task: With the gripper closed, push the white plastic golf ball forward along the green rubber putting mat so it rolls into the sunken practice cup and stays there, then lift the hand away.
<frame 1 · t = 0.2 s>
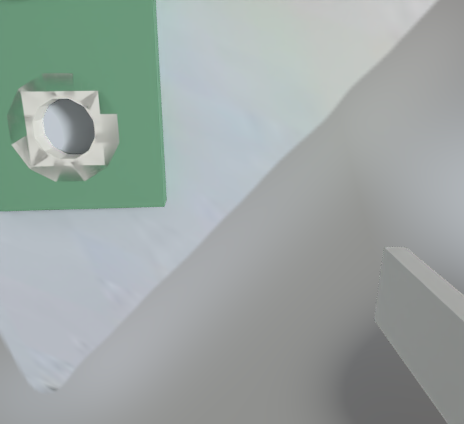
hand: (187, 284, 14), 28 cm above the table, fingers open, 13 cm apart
mat: (65, 67, 38), on the table
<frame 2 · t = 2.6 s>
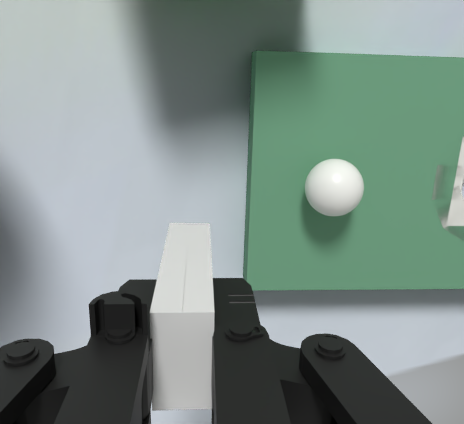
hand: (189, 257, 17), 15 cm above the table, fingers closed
ball: (333, 187, 28), point 4 cm above the table, touching mat
mat: (410, 174, 32), on the table
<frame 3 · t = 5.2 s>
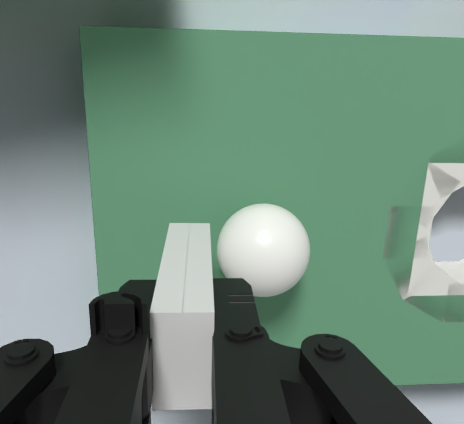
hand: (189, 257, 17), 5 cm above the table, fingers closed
ball: (263, 249, 17), point 4 cm above the table, tilted 54°, touching mat
mat: (355, 215, 22), on the table
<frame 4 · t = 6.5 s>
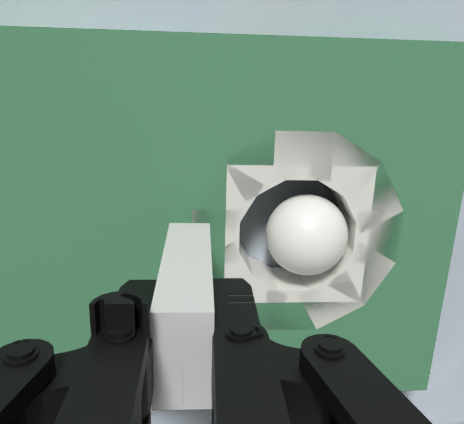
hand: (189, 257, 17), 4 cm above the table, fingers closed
ball: (306, 234, 20), point 2 cm above the table, tilted 69°
mat: (182, 218, 21), on the table
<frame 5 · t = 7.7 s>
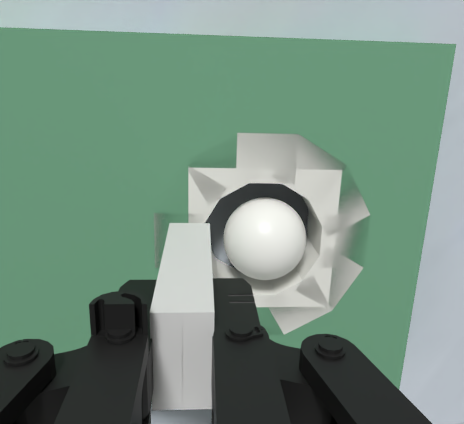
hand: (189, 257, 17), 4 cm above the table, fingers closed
ball: (264, 238, 19), point 2 cm above the table, tilted 57°
mat: (149, 221, 21), on the table
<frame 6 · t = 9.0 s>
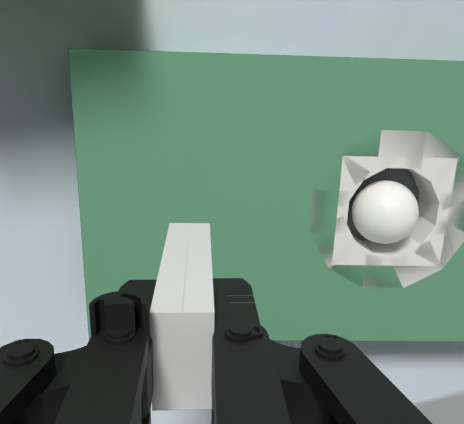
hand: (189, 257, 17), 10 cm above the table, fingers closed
ball: (384, 212, 25), point 2 cm above the table, tilted 45°
mat: (294, 200, 26), on the table
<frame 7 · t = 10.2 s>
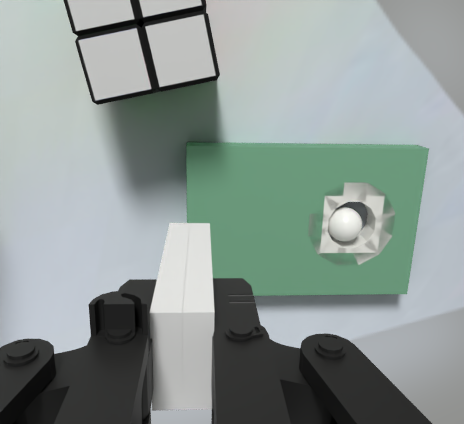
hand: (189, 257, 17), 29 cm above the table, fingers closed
puzzle cube: (154, 35, 42), on the table
ball: (344, 224, 46), point 2 cm above the table, tilted 33°
mat: (299, 217, 48), on the table
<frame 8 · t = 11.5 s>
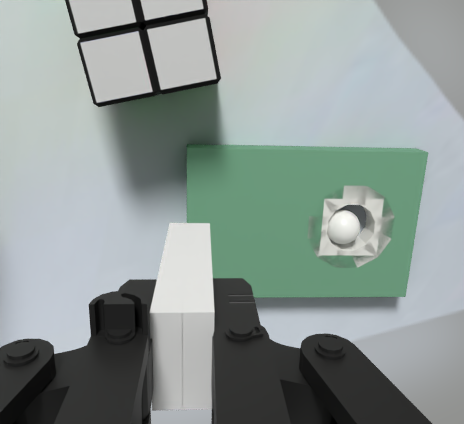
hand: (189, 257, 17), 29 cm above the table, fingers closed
puzzle cube: (155, 37, 42), on the table
ball: (342, 226, 46), point 2 cm above the table, tilted 29°
mat: (298, 220, 48), on the table
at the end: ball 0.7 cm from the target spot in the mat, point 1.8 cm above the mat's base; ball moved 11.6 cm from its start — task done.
